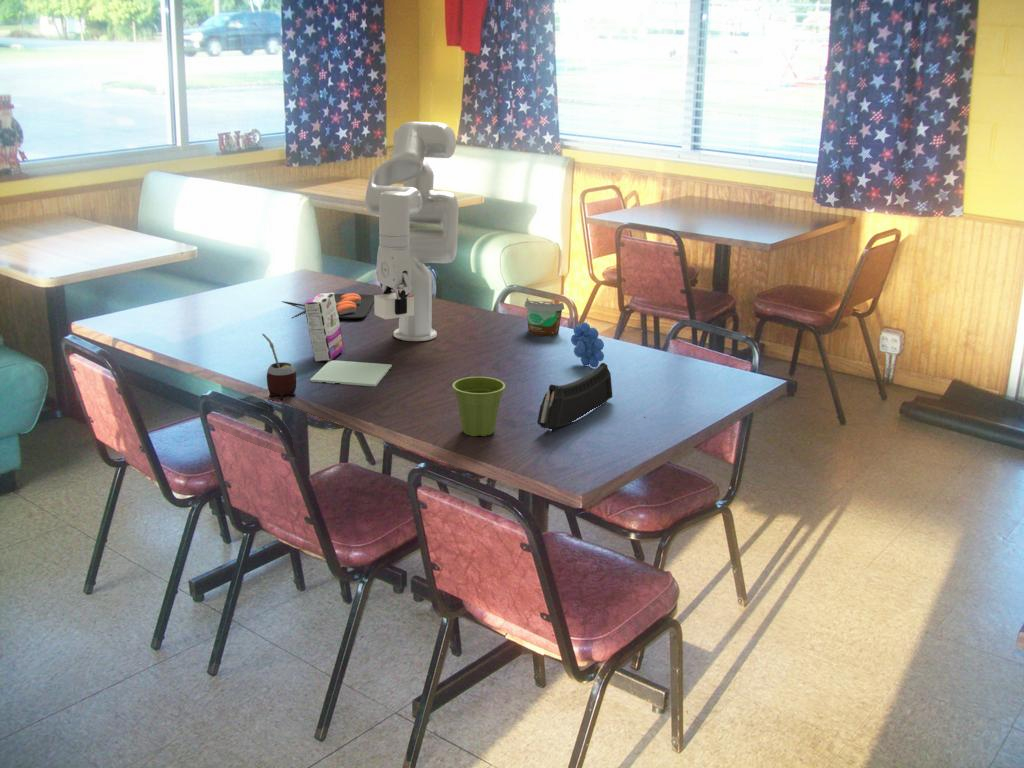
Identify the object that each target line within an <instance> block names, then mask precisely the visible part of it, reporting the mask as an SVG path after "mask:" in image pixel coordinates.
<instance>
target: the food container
mask: <svg viewBox="0 0 1024 768" xmlns="http://www.w3.org/2000/svg"><path fill="white" fill-rule="evenodd" d="M523 306H524V308H525V309H526V314H527V315H526V317H527V332H529V333H528V334H530V335H532V334H533V336H535V335H538V336H537V337H545V336H546V337H554V336H553V335H555V336H558V335H559V332H560V325H561V319H562V311H563V310H565V304H564V301H561V302H559V303H552V302H549V301H543V300H542V301H541V300H540V301H536V300H535V301H533V300H529V298H528V297H527V298H526V299H525V301H524V305H523ZM557 334H558V335H557Z"/></svg>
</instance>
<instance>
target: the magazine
mask: <svg viewBox="0 0 1024 768" xmlns="http://www.w3.org/2000/svg"><path fill="white" fill-rule="evenodd" d="M608 367H609V366H608V365H607V364H606V363H605V362H600V364H598V366H597V367H595V369H593V370H592V371H590V373H588V374H585V376H583V377H581V378H580V379H578V380H575V381H572V382H570V383H567V384H562V385H556V384H550V385H549V387H548V390H547V392H546V393H545V394H544V396H543V400H542V402H541V404H540V407H539V411H538V417H537V422H536V423H537V424H538V425H539V426H540V428H543V429H552V430H553V429H557V428H560V427H563V426H566V425H567V426H568V425H570V424H569V423H571V422H572V421H574V420H576V419H577V418H579V417H581V416H583V415H584V414H586V413H587V412H589V411H590V410H592V409H594V408H596V407H598V406H600V405H601V406H602V405H603V403H604V404H605V403H606V402H607V401H609V400H610V399H612V398H613V386H612V375H611V372H610V370H609V368H608ZM601 406H600V407H601ZM571 424H572V423H571ZM553 431H554V430H553Z"/></svg>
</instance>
